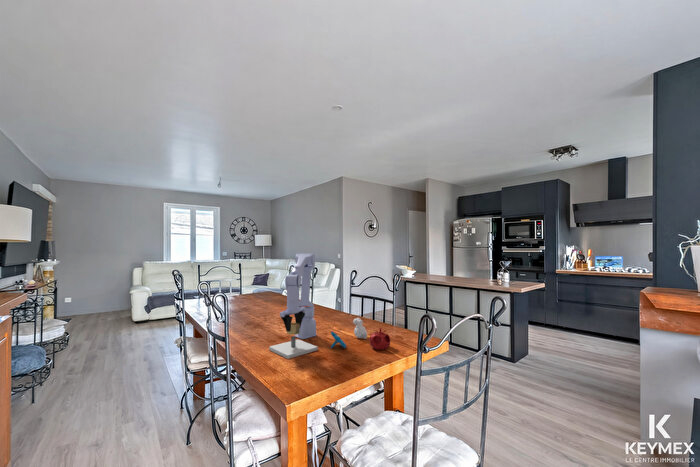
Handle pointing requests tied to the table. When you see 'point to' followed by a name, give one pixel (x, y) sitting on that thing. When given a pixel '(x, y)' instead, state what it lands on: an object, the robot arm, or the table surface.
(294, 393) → the table surface
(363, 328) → the white animal figurine
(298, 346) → the grey peg base
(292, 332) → the ring
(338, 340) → the blue branched piece
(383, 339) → the pomegranate
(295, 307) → the robot arm
